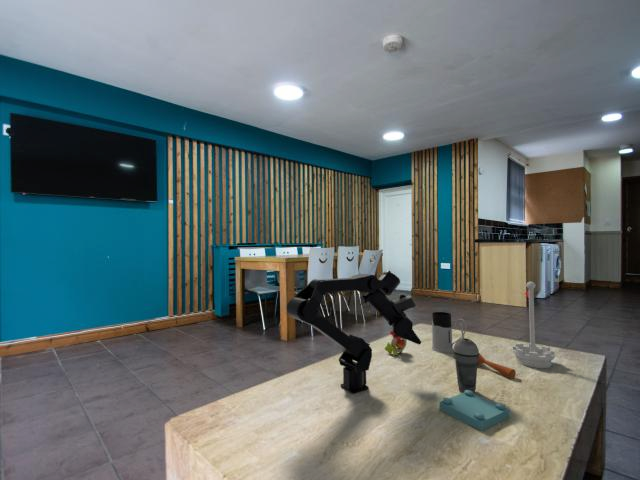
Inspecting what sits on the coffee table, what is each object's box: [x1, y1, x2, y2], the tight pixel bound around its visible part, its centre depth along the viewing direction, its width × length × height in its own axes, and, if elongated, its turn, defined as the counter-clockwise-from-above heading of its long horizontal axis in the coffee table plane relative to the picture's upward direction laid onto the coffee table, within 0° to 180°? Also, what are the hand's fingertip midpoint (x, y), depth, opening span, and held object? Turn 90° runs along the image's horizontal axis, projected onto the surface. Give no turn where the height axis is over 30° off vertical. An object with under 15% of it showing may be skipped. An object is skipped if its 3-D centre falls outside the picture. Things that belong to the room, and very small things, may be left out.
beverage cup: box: [452, 323, 480, 395], centre depth 98 cm, size 7×7×20 cm
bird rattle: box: [384, 330, 408, 356], centre depth 133 cm, size 6×11×9 cm
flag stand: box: [512, 281, 556, 369], centre depth 121 cm, size 13×13×30 cm
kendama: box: [477, 352, 517, 380], centre depth 116 cm, size 6×6×20 cm
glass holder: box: [431, 311, 467, 354], centre depth 136 cm, size 9×14×15 cm, turn 51°
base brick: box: [438, 390, 511, 432], centre depth 85 cm, size 12×12×3 cm
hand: (417, 339), depth 105 cm, fingers open, 9 cm apart
